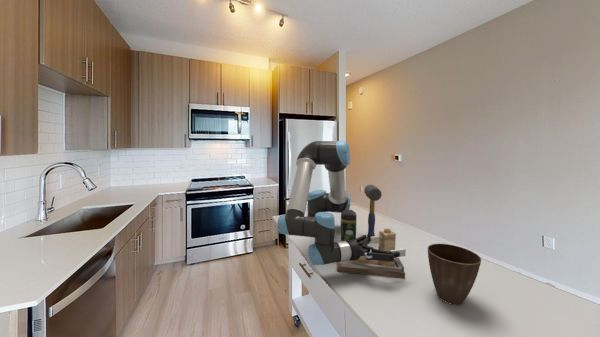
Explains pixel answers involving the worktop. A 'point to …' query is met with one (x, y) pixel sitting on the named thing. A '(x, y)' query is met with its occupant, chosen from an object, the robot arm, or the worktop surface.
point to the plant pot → (453, 271)
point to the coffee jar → (348, 225)
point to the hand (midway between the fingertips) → (393, 244)
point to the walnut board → (372, 267)
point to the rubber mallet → (372, 206)
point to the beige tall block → (386, 244)
